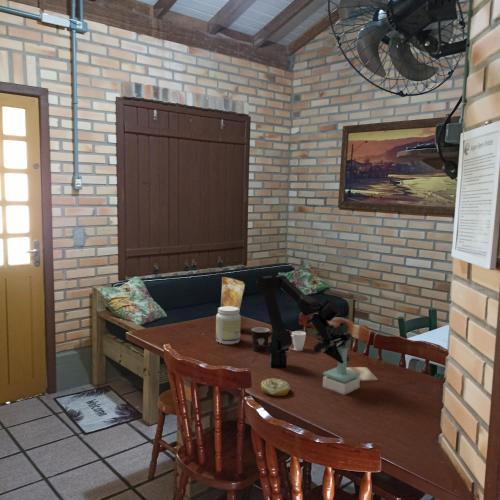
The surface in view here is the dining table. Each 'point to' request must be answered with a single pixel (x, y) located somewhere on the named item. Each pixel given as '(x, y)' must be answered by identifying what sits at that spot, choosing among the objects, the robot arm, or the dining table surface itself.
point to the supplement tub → (228, 325)
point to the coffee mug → (260, 339)
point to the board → (363, 373)
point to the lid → (342, 368)
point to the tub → (341, 385)
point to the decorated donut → (275, 387)
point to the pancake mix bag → (232, 292)
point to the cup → (298, 340)
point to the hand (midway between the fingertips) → (345, 361)
